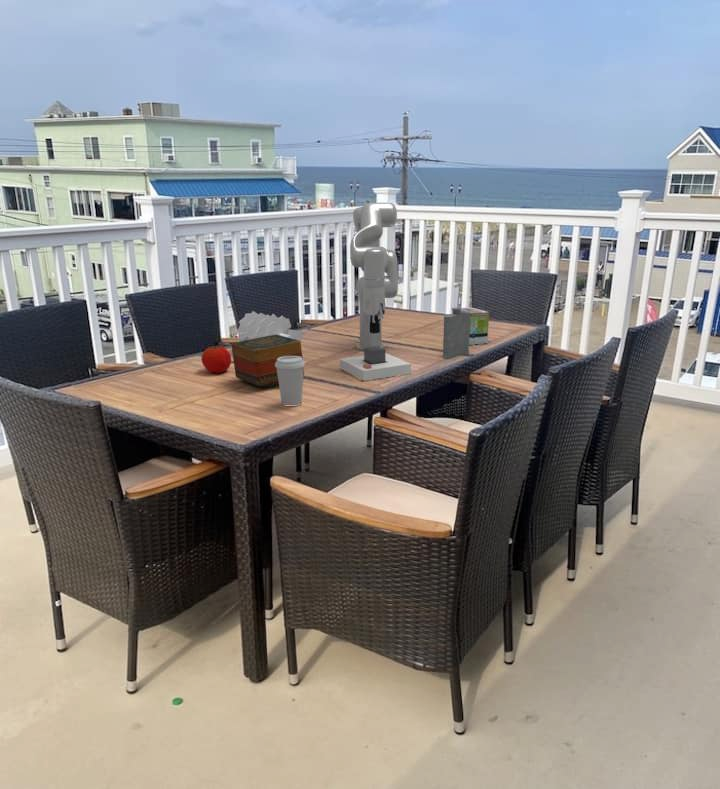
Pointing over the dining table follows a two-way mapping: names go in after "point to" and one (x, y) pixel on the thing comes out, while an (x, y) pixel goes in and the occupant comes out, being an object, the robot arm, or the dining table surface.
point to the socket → (375, 367)
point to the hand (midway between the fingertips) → (374, 332)
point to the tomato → (216, 359)
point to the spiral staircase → (265, 327)
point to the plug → (374, 355)
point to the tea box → (477, 325)
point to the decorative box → (262, 358)
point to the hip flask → (456, 333)
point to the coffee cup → (290, 379)
